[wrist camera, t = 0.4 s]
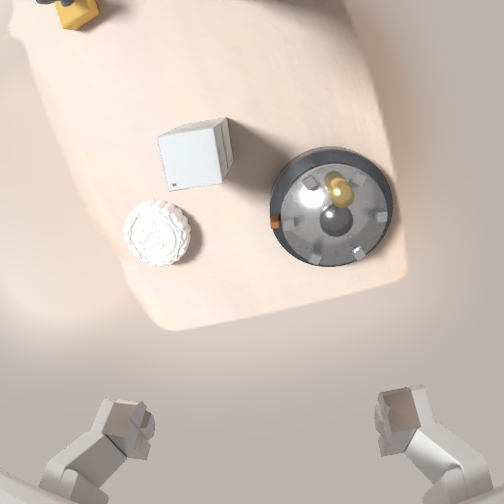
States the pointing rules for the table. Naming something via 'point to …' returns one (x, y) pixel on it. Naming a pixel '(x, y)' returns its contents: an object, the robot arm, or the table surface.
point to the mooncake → (157, 232)
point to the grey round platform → (310, 160)
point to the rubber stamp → (74, 12)
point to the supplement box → (196, 154)
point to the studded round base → (333, 213)
